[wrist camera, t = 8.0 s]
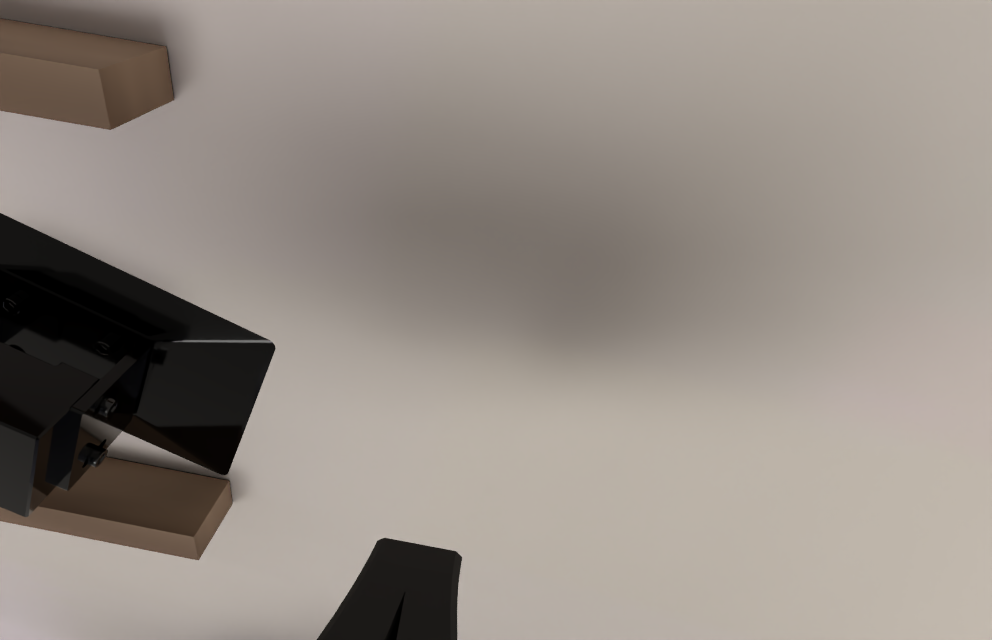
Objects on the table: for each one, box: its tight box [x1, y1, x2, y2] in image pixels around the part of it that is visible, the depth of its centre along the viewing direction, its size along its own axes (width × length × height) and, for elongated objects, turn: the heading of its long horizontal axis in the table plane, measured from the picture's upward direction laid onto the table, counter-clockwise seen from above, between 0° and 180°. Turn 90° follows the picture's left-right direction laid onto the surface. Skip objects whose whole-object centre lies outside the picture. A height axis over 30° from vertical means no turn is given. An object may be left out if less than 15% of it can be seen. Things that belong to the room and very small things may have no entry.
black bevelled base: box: [0, 213, 275, 517], centre depth 15 cm, size 12×7×5 cm, turn 62°
